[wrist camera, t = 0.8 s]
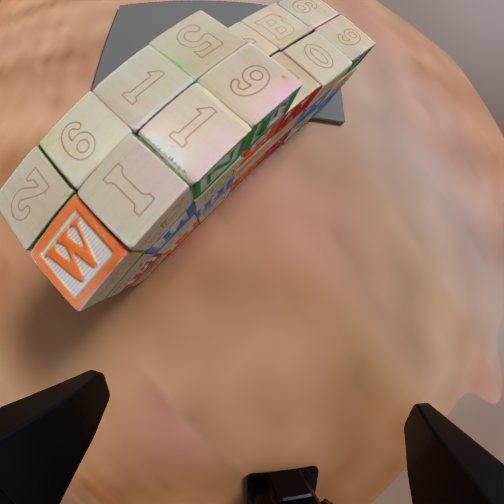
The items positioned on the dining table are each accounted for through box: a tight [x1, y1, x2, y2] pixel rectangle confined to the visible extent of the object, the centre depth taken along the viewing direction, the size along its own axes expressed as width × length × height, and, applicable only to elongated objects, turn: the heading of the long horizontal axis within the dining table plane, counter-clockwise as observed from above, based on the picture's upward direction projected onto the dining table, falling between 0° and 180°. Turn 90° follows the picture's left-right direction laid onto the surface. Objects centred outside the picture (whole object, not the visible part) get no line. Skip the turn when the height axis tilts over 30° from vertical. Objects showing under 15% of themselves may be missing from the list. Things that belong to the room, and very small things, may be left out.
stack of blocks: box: [0, 0, 375, 311], centre depth 16 cm, size 21×6×12 cm, turn 136°
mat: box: [92, 1, 345, 124], centre depth 23 cm, size 14×22×1 cm, turn 89°
